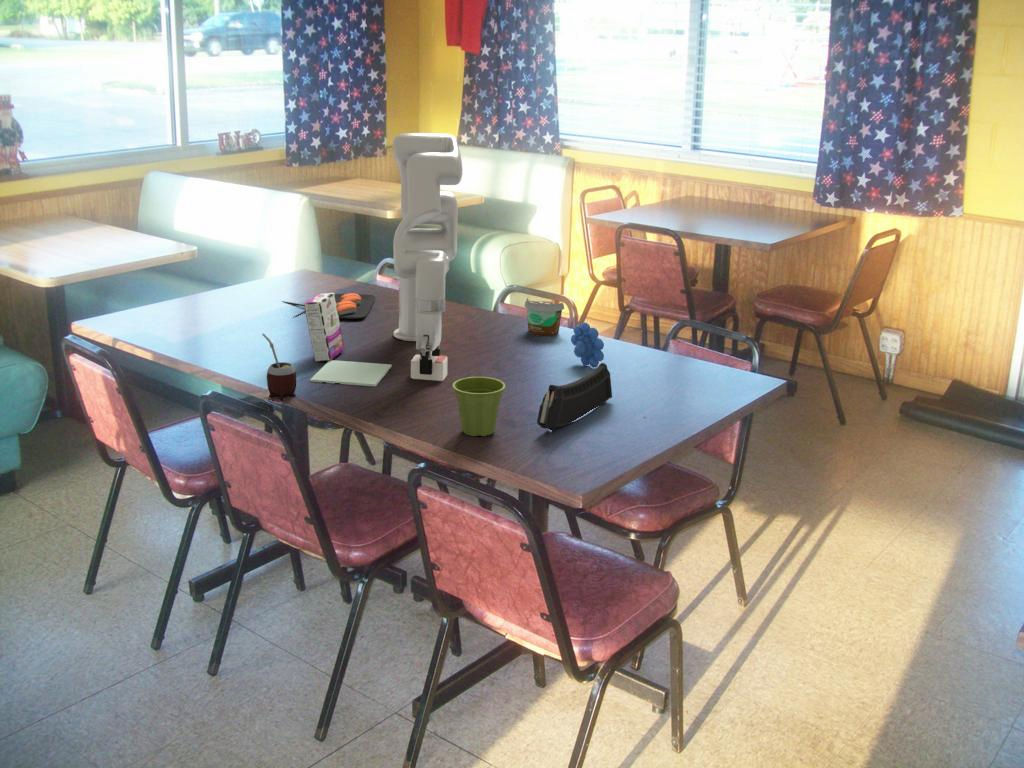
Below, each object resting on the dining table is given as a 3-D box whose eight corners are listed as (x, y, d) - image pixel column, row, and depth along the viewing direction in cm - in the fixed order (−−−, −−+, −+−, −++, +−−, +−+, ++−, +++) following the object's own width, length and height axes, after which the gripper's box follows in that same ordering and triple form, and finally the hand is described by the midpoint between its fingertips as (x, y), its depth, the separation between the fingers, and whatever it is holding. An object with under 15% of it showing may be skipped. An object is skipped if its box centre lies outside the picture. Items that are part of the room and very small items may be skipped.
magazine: (607, 363, 270) (548, 355, 244) (618, 365, 269) (561, 358, 243) (593, 430, 271) (534, 430, 246) (605, 433, 270) (546, 433, 244)
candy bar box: (328, 350, 303) (318, 293, 298) (345, 349, 302) (335, 292, 297) (313, 362, 292) (303, 302, 288) (330, 361, 291) (320, 301, 287)
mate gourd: (296, 401, 263) (294, 341, 258) (263, 401, 261) (260, 341, 257) (297, 391, 270) (295, 332, 265) (264, 391, 268) (262, 333, 264)
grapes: (559, 363, 298) (561, 321, 294) (576, 359, 303) (578, 317, 299) (591, 374, 290) (594, 330, 286) (608, 369, 295) (610, 326, 291)
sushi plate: (364, 323, 333) (364, 311, 331) (266, 320, 333) (266, 308, 332) (377, 300, 360) (377, 289, 359) (286, 297, 360) (286, 285, 359)
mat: (330, 362, 293) (330, 360, 293) (391, 366, 291) (391, 364, 291) (310, 381, 277) (310, 379, 277) (375, 386, 275) (375, 384, 275)
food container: (517, 334, 325) (518, 301, 322) (524, 329, 330) (526, 297, 327) (556, 339, 321) (557, 306, 318) (563, 334, 326) (564, 302, 323)
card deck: (415, 372, 287) (415, 353, 286) (447, 375, 286) (447, 355, 284) (410, 379, 282) (410, 359, 280) (442, 381, 281) (443, 362, 279)
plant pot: (461, 419, 254) (462, 374, 251) (510, 426, 251) (511, 380, 247) (444, 437, 243) (444, 389, 240) (494, 444, 240) (496, 396, 237)
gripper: (423, 296, 287) (422, 358, 292) (408, 311, 270) (408, 377, 276) (451, 297, 286) (450, 360, 291) (437, 313, 269) (437, 379, 275)
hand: (429, 368), depth 283 cm, fingers open, 9 cm apart
